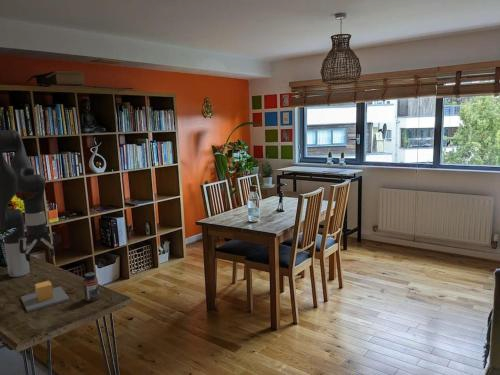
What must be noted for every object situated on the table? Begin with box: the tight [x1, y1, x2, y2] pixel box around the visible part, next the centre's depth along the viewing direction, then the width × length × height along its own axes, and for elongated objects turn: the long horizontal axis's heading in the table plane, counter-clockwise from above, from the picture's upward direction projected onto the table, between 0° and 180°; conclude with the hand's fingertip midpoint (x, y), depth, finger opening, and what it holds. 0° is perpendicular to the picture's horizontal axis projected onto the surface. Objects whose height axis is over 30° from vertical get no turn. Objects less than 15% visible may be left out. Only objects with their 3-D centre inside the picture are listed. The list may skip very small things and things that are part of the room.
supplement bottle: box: [82, 271, 101, 302], centre depth 168 cm, size 6×6×11 cm
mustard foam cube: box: [34, 280, 53, 302], centre depth 168 cm, size 6×6×6 cm
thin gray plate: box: [20, 286, 71, 313], centre depth 169 cm, size 16×16×5 cm
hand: (40, 259), depth 166 cm, fingers open, 8 cm apart
